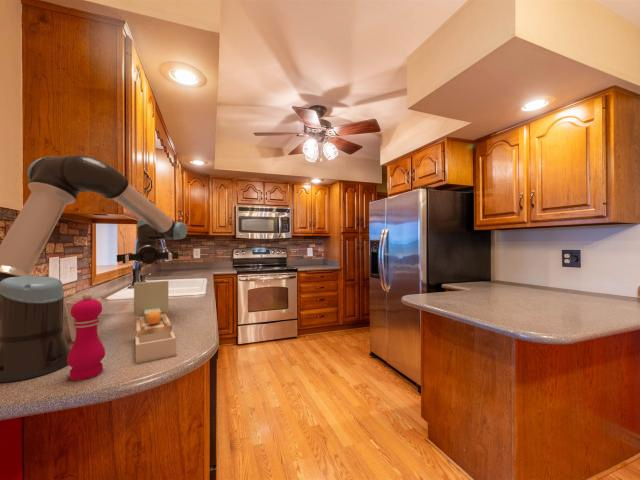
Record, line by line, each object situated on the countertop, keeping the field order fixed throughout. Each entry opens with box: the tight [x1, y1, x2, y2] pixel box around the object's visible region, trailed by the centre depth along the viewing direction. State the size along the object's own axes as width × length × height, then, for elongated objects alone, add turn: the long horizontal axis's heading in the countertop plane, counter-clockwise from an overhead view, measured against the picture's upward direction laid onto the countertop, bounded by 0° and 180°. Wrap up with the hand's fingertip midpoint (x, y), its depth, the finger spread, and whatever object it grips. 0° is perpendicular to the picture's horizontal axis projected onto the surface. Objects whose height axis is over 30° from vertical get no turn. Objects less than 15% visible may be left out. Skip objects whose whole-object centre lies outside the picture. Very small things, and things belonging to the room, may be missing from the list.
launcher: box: [135, 312, 173, 336], centre depth 91 cm, size 9×17×8 cm, turn 34°
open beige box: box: [134, 329, 177, 365], centre depth 82 cm, size 10×10×5 cm
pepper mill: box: [67, 292, 106, 381], centre depth 70 cm, size 7×7×20 cm
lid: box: [133, 280, 169, 323], centre depth 93 cm, size 10×8×12 cm
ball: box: [146, 311, 161, 325], centre depth 88 cm, size 4×4×4 cm
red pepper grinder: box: [64, 297, 103, 343], centre depth 96 cm, size 10×9×13 cm
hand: (149, 258), depth 102 cm, fingers open, 13 cm apart
